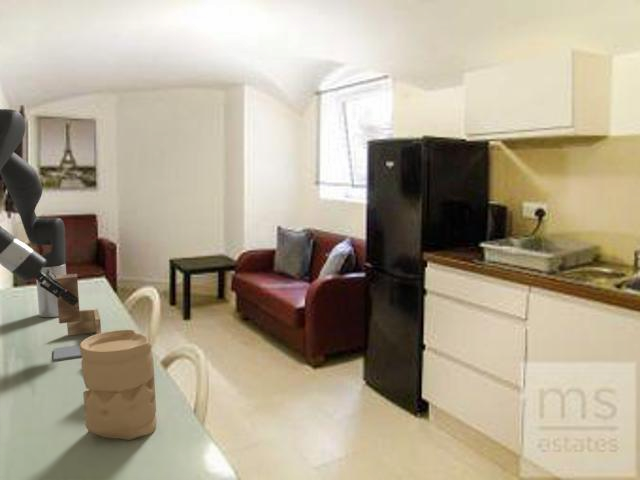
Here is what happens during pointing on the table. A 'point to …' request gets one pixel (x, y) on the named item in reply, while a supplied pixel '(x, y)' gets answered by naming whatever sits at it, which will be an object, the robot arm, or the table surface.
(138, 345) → the container
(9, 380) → the table surface
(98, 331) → the shelf end
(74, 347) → the mat
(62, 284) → the plate
